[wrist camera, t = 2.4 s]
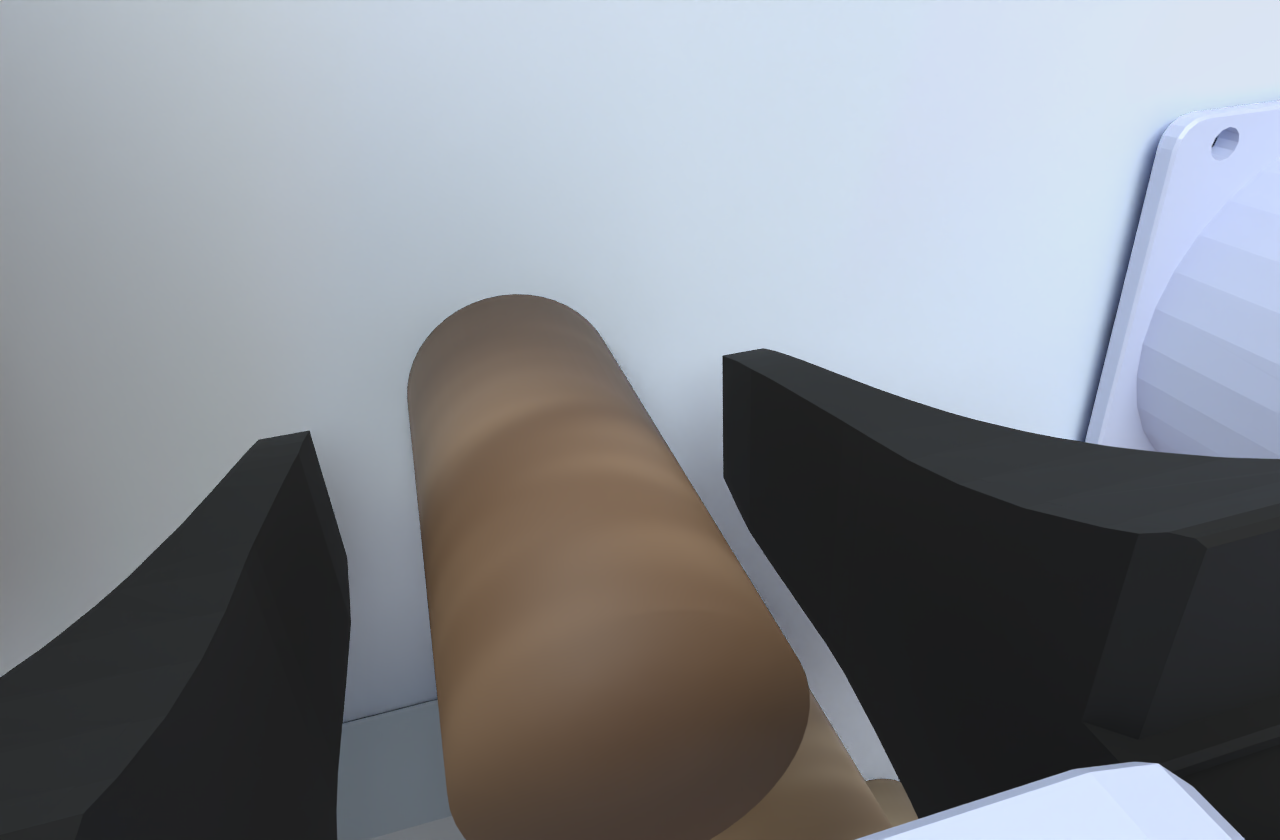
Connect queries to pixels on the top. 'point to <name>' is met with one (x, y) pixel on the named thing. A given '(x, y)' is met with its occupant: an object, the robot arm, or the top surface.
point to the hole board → (394, 778)
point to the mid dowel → (814, 795)
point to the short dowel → (892, 800)
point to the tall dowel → (583, 598)
